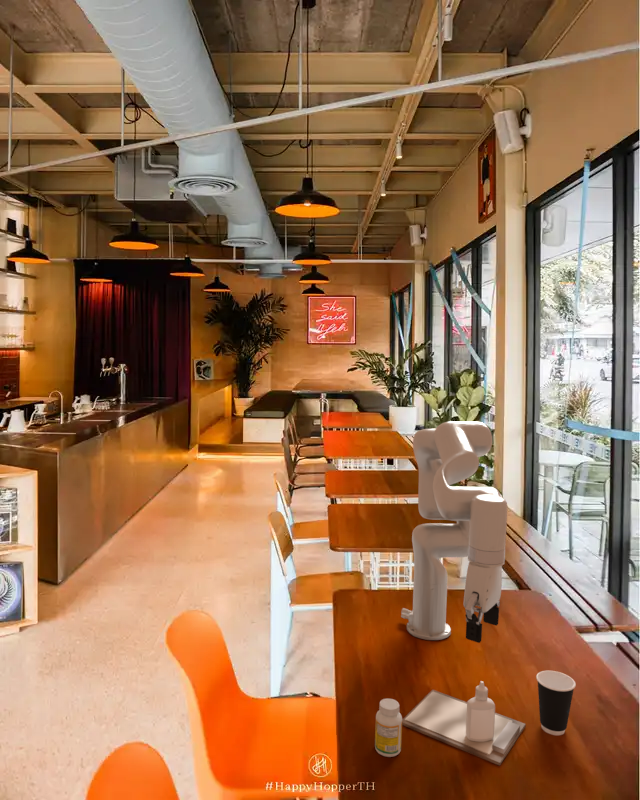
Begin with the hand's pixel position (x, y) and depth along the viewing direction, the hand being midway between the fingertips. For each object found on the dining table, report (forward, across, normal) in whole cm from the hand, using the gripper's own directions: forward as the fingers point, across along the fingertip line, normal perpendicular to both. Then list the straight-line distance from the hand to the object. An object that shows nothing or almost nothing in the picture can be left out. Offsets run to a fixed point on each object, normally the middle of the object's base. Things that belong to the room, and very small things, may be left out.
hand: (482, 631), depth 131 cm
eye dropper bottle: (+21, +5, +2) cm, 21 cm away
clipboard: (+21, +2, -2) cm, 22 cm away
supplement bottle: (+21, +19, -11) cm, 31 cm away
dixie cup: (+22, -9, +13) cm, 27 cm away
